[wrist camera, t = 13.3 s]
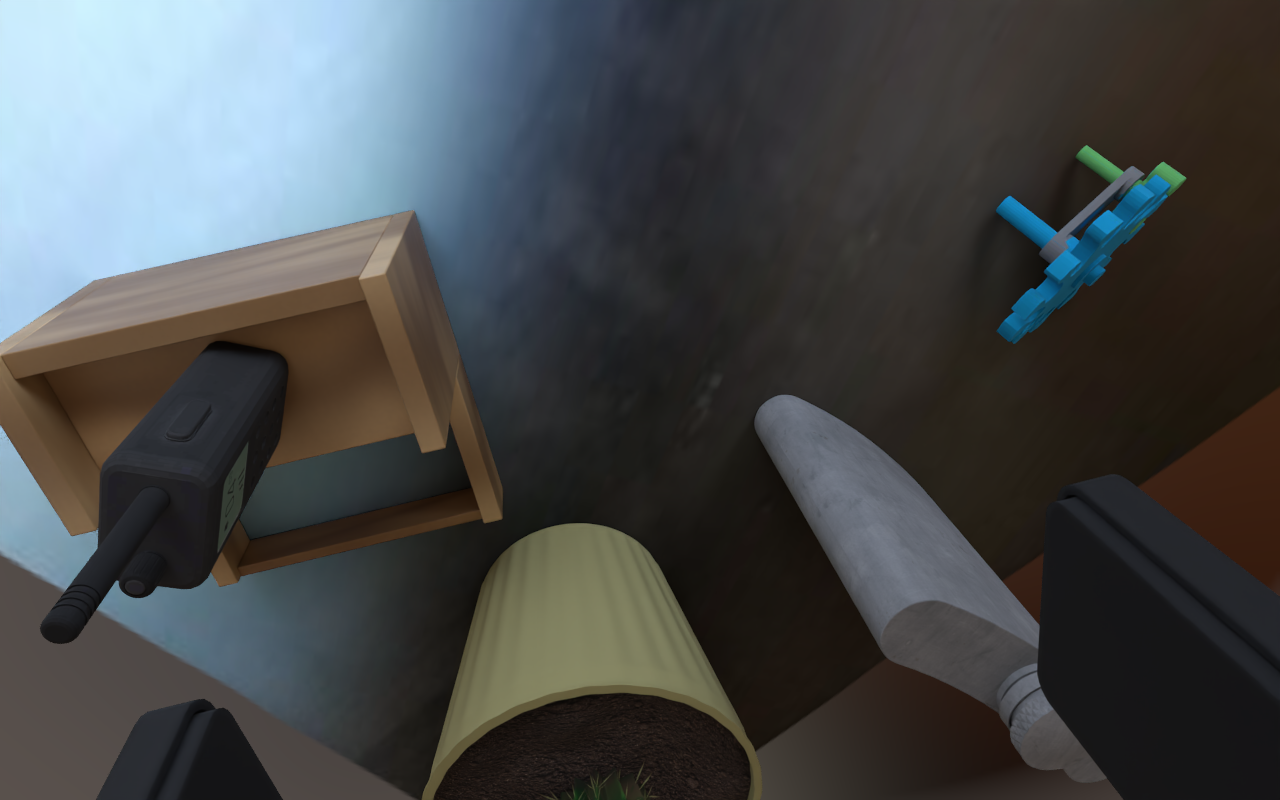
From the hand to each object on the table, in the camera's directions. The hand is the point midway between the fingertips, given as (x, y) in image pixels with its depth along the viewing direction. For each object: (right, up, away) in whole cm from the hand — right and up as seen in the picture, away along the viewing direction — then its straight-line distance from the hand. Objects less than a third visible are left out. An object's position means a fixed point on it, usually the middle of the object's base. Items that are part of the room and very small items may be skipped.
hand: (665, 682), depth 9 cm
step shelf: (-17, +3, +32) cm, 36 cm away
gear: (+21, +12, +34) cm, 42 cm away
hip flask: (+13, -1, +39) cm, 41 cm away
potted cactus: (-4, -9, +40) cm, 41 cm away
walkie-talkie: (-16, +4, +23) cm, 29 cm away
